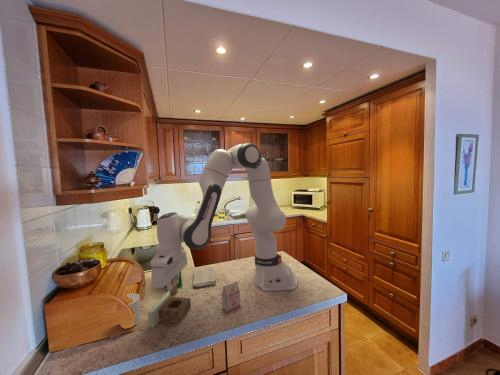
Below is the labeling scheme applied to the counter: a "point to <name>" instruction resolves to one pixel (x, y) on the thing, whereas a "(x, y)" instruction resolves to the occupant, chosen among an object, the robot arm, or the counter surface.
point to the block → (174, 309)
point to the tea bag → (231, 296)
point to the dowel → (174, 290)
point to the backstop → (157, 310)
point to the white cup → (135, 306)
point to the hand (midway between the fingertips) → (173, 286)
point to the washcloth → (204, 278)
